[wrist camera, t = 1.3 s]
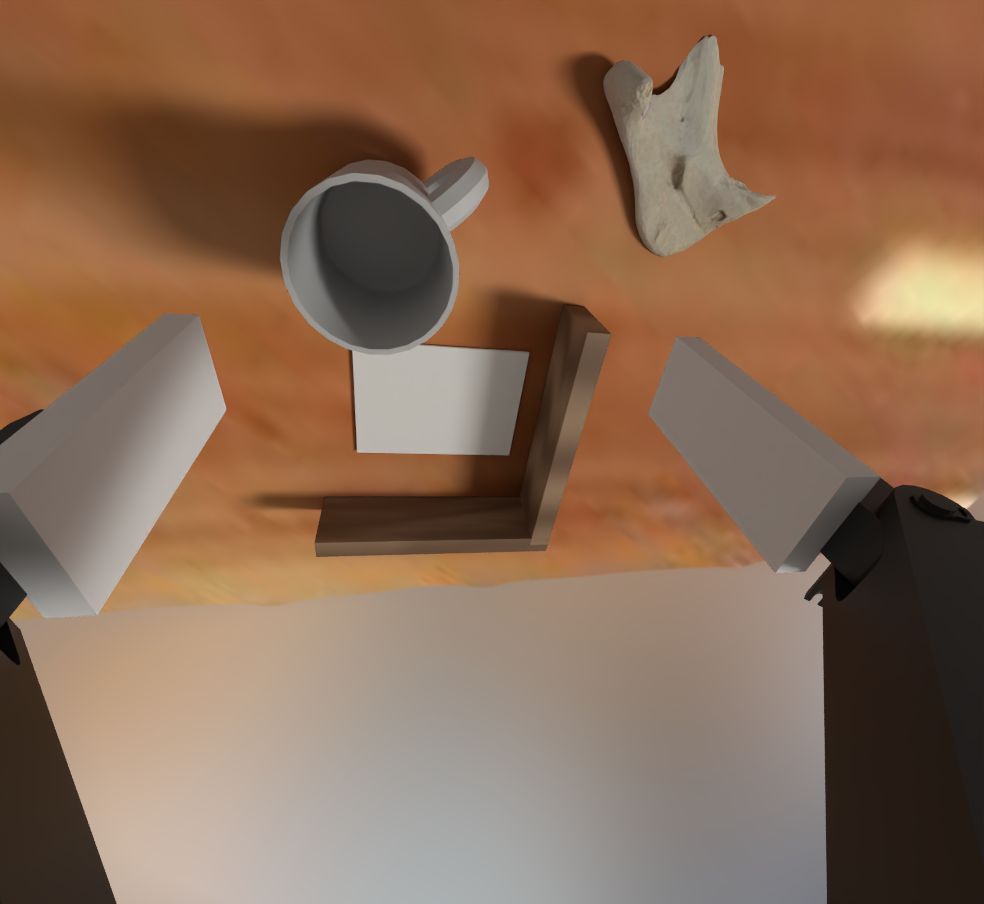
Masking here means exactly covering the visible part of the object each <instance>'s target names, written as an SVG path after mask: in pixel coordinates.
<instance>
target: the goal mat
mask: <svg viewBox="0 0 984 904" xmlns="http://www.w3.org/2000/svg"><path fill="white" fill-rule="evenodd" d="M352 352H353V373H354V395H355V416H356V437H357V452H364V453H414V454H465V455H509V453H510V448H511V443H512V438H513V433H514V428H515V423H516V418H517V413H518V408H519V403H520V398H521V393H522V388H523V383H524V378H525V373H526V368H527V362H528V357H529V352H526V351H512V350H498V349H483V348H469V347H455V346H440V345H426V344H420V345H418V346H416V347H414V348H412V349H410V350H407V351H403V352H399V353H395V354H391V355H369V354H365V353H361V352H357V351H353V350H352Z"/></svg>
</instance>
